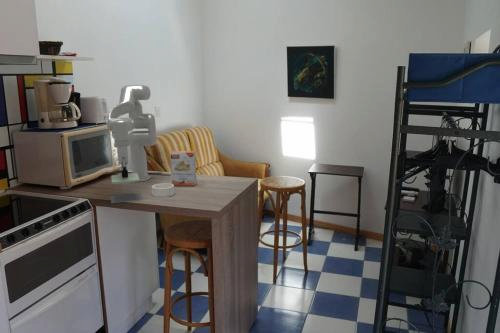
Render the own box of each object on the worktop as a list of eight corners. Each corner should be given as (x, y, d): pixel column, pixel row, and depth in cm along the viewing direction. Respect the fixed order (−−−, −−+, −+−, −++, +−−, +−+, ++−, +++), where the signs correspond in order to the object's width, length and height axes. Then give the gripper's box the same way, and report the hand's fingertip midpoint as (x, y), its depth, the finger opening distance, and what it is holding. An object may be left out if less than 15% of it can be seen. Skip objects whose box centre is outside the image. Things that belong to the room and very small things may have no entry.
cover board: (111, 177, 230) (110, 165, 228) (137, 174, 234) (136, 162, 233) (112, 184, 217) (110, 171, 215) (139, 181, 222) (138, 168, 220)
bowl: (151, 192, 237) (150, 184, 236) (172, 190, 241) (171, 182, 240) (153, 198, 226) (153, 189, 225) (175, 196, 230) (175, 187, 229)
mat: (110, 196, 231) (110, 196, 231) (140, 193, 236) (140, 193, 236) (111, 203, 218) (111, 203, 218) (142, 200, 223) (142, 199, 223)
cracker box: (171, 186, 251) (169, 152, 247) (174, 183, 257) (172, 150, 252) (194, 186, 250) (193, 152, 245) (196, 184, 255) (195, 150, 251)
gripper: (114, 141, 227) (117, 173, 232) (115, 146, 212) (118, 181, 217) (128, 140, 230) (131, 172, 234) (130, 145, 214) (133, 179, 219)
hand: (124, 176), depth 225 cm, fingers closed on cover board, 3 cm apart
